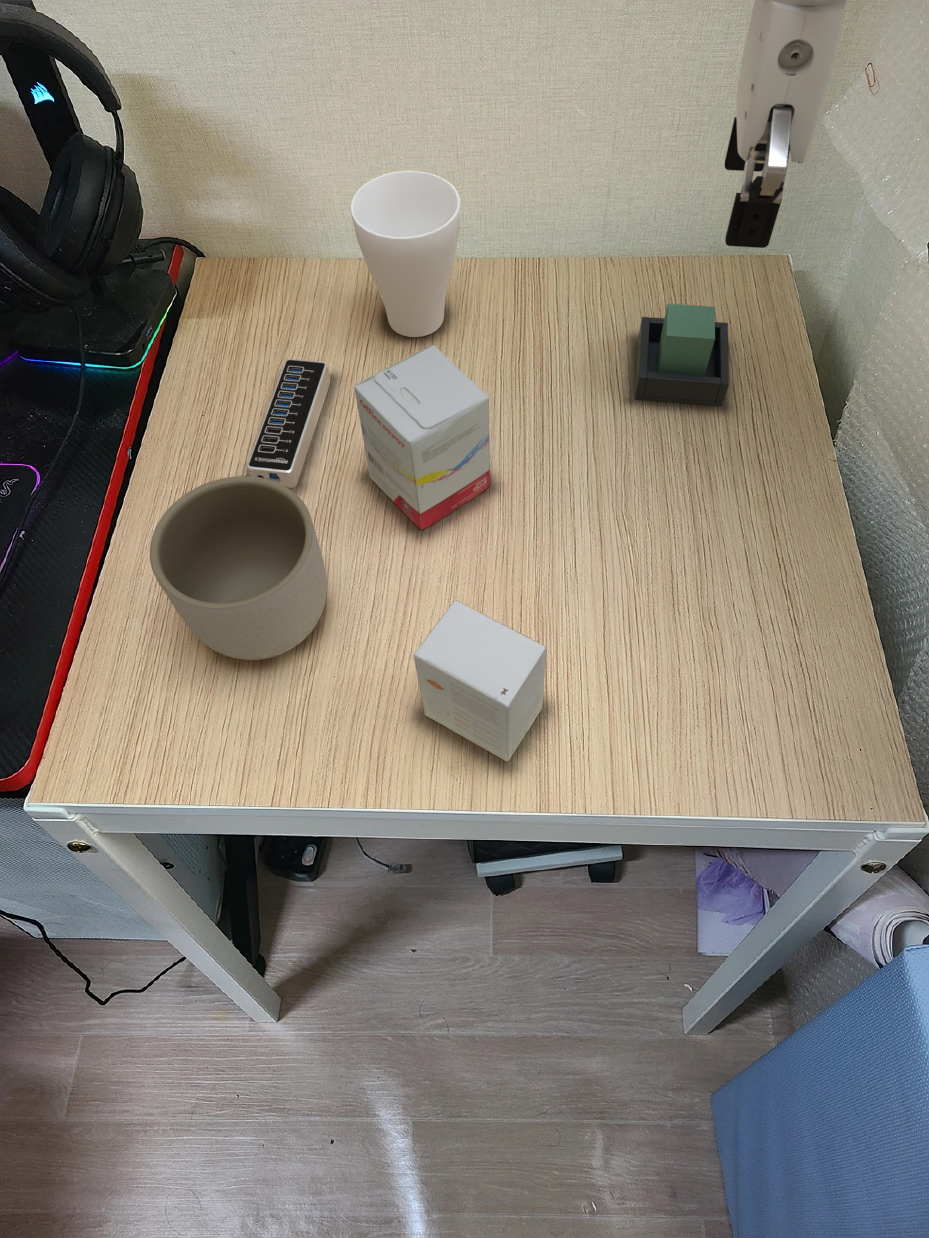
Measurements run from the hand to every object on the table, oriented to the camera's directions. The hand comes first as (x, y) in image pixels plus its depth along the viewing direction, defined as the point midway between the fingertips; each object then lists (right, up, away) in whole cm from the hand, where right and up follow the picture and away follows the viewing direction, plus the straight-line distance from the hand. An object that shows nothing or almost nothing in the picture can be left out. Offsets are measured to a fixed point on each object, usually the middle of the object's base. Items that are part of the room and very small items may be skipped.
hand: (744, 205), depth 69 cm
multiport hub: (-39, -14, +18) cm, 45 cm away
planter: (-39, -32, +7) cm, 51 cm away
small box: (-21, -40, +2) cm, 45 cm away
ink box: (-25, -20, +14) cm, 35 cm away
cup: (-27, 0, +25) cm, 37 cm away
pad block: (0, -7, +20) cm, 21 cm away
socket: (0, -7, +20) cm, 21 cm away
